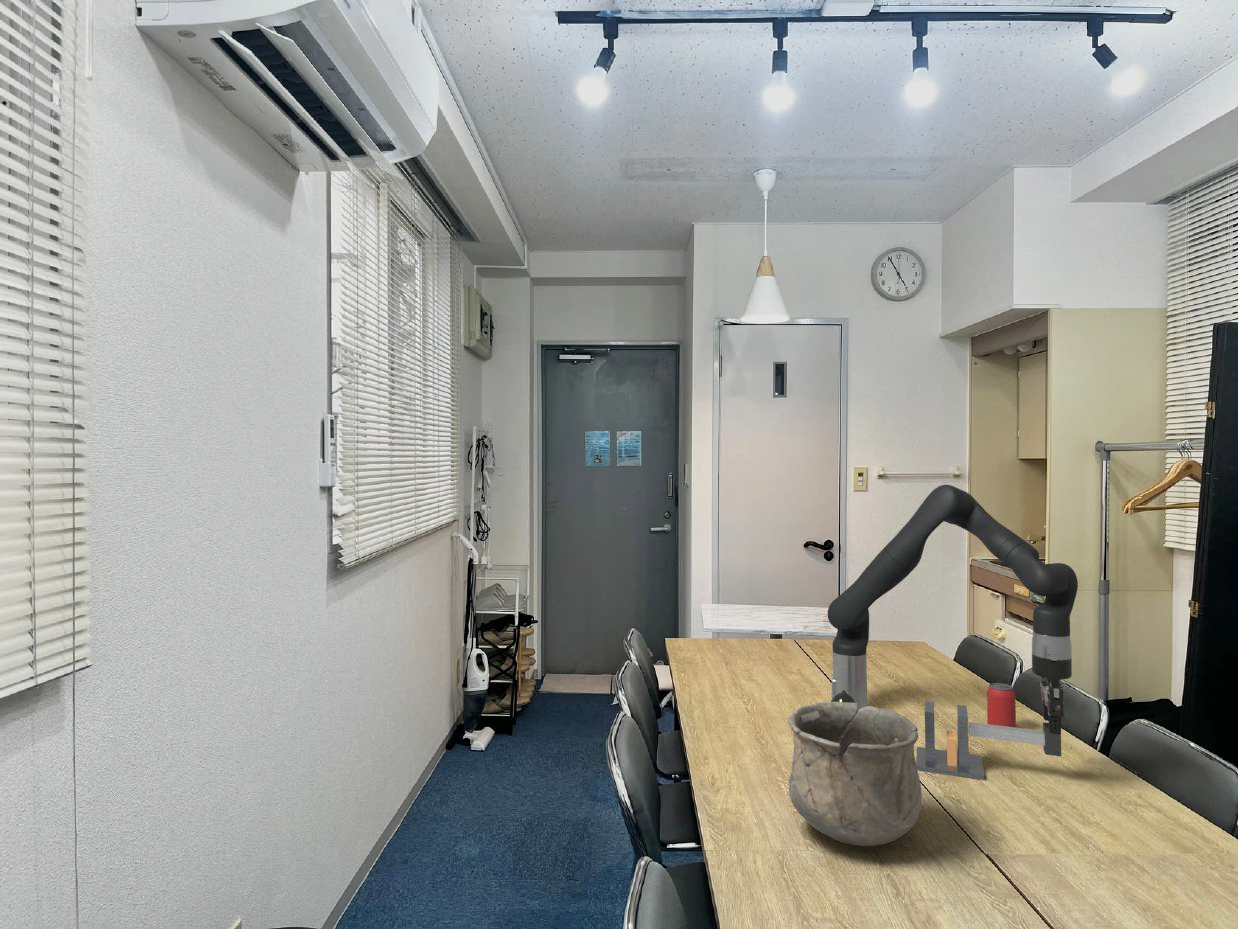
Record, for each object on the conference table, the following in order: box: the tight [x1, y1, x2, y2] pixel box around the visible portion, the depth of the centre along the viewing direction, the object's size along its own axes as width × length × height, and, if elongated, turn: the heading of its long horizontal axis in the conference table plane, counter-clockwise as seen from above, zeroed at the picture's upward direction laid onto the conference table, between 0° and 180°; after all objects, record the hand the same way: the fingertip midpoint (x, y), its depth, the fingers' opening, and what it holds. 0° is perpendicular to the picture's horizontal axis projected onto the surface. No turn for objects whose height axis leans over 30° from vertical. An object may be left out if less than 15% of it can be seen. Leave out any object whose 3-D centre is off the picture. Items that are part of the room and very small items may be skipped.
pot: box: [787, 701, 923, 847], centre depth 133 cm, size 25×24×21 cm
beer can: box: [986, 682, 1017, 728], centre depth 183 cm, size 7×7×12 cm
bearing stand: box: [915, 700, 985, 781], centre depth 163 cm, size 14×12×13 cm
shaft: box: [968, 721, 1062, 757], centre depth 158 cm, size 18×3×6 cm, turn 66°
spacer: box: [946, 729, 958, 767], centre depth 163 cm, size 2×6×6 cm, turn 155°
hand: (1051, 727), depth 155 cm, fingers open, 8 cm apart
